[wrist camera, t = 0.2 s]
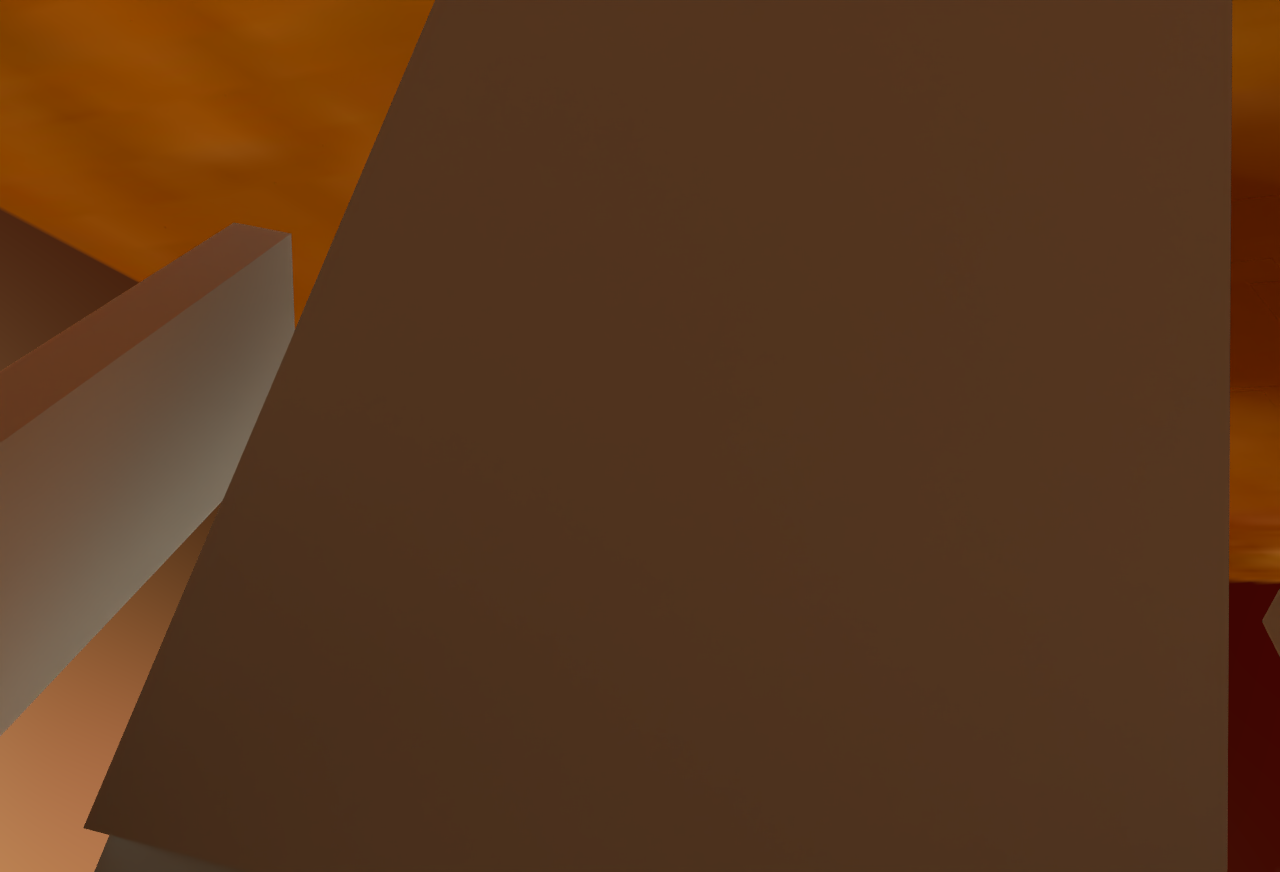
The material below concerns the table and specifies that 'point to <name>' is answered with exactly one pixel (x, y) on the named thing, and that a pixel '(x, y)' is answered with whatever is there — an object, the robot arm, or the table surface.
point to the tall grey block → (734, 462)
